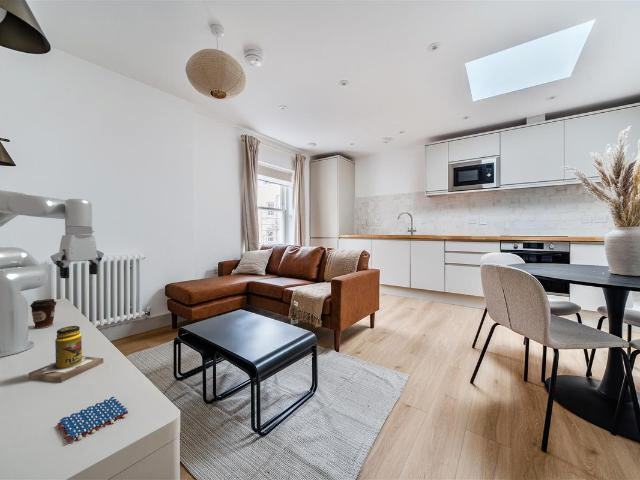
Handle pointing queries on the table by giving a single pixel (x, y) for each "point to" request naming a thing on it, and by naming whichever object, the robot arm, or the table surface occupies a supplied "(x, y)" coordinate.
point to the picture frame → (67, 373)
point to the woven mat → (91, 419)
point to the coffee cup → (43, 312)
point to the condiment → (67, 349)
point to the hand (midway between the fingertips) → (79, 276)
